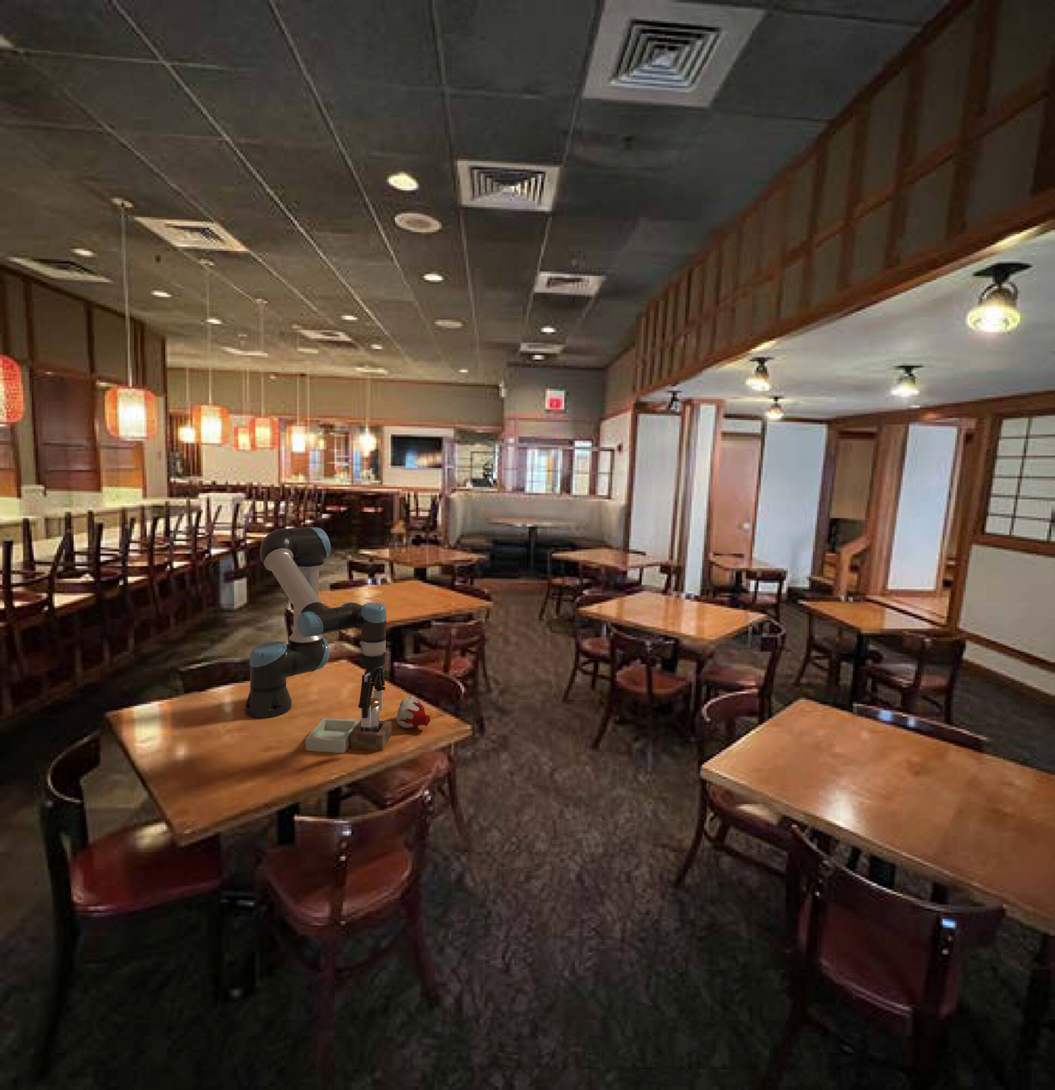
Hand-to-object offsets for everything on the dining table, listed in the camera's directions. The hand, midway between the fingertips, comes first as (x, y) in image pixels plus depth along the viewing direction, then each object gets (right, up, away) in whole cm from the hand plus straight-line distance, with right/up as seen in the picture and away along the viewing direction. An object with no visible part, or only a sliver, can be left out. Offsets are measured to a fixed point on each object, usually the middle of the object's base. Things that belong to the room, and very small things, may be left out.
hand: (372, 717), depth 177 cm
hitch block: (0, -8, +1) cm, 8 cm away
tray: (-12, -7, 0) cm, 15 cm away
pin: (0, -8, +1) cm, 8 cm away
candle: (+10, -7, +14) cm, 18 cm away
